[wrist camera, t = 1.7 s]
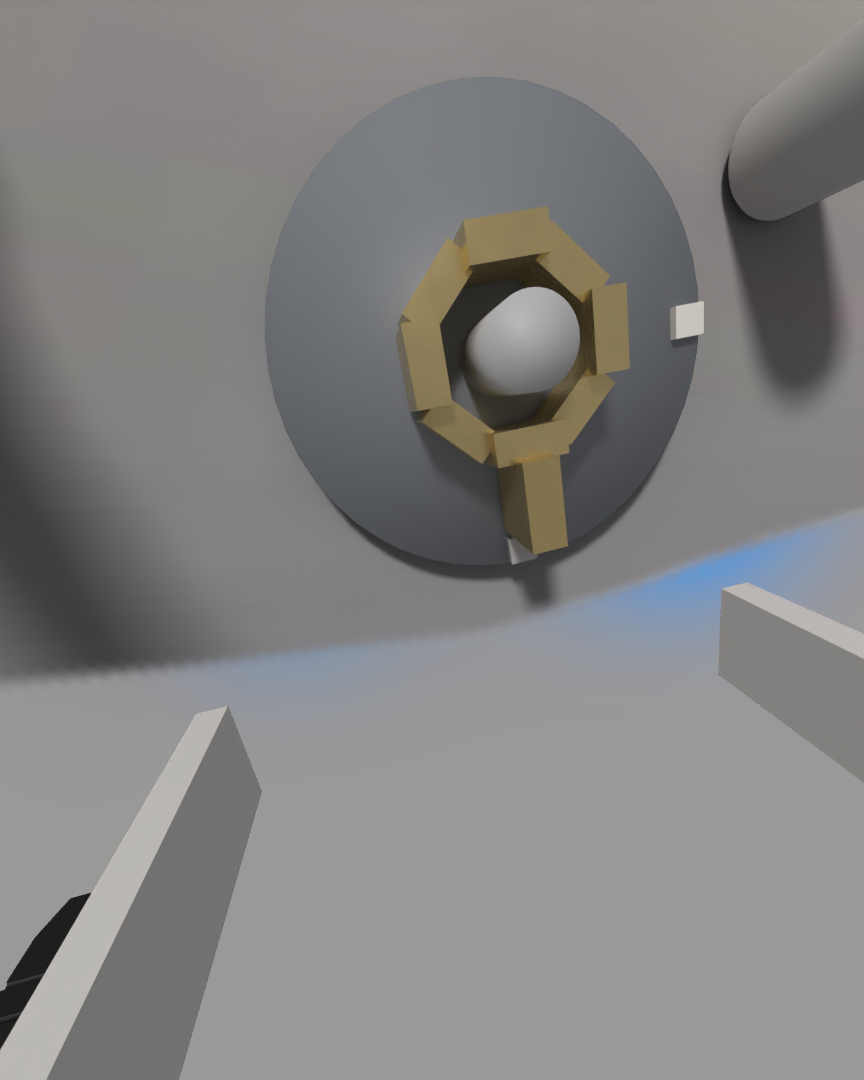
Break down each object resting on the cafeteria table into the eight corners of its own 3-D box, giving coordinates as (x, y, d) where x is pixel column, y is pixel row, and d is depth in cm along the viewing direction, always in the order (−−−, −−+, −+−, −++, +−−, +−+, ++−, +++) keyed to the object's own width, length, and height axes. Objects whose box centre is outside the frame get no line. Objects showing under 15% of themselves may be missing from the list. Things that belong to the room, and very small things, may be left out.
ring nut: (380, 263, 22) (384, 223, 18) (581, 229, 23) (636, 182, 19) (436, 546, 27) (450, 573, 23) (600, 508, 28) (646, 527, 24)
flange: (207, 141, 22) (121, -6, 14) (674, 74, 24) (817, -84, 16) (336, 592, 30) (325, 653, 22) (677, 513, 32) (774, 544, 24)
